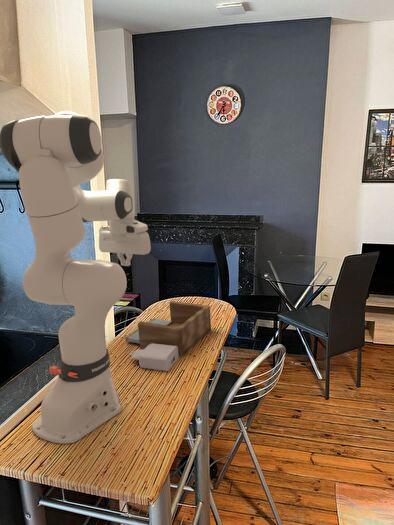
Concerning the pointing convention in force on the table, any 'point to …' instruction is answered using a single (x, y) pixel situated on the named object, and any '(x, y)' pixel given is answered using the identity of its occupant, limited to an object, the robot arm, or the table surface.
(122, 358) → the table surface
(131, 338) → the tailgate
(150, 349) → the charger
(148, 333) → the crate
